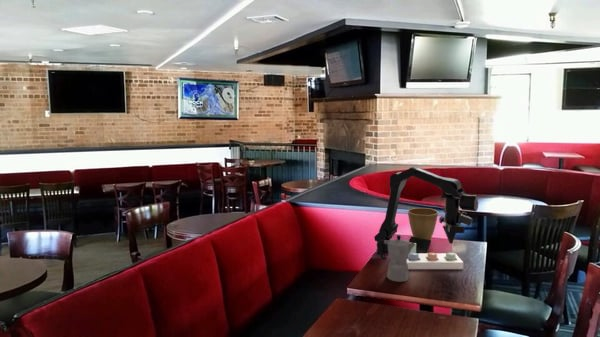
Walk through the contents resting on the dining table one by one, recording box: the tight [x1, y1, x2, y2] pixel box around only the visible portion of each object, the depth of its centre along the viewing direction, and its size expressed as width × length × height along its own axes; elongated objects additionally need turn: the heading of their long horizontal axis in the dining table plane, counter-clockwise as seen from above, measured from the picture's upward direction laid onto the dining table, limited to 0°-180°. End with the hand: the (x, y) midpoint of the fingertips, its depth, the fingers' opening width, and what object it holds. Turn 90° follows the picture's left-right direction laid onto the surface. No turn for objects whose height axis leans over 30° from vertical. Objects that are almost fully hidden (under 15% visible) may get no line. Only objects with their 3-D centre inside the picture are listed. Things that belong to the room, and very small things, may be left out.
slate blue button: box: [409, 253, 419, 261], centre depth 205 cm, size 4×4×4 cm
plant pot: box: [407, 207, 439, 241], centre depth 238 cm, size 15×15×16 cm
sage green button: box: [446, 252, 457, 260], centre depth 204 cm, size 4×4×4 cm
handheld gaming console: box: [408, 236, 432, 253], centre depth 225 cm, size 12×7×10 cm
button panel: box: [407, 243, 464, 270], centre depth 205 cm, size 24×12×8 cm, turn 87°
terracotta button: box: [428, 252, 437, 260], centre depth 204 cm, size 4×4×4 cm
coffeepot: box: [376, 234, 415, 283], centre depth 190 cm, size 15×9×18 cm, turn 75°
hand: (450, 243), depth 203 cm, fingers closed
